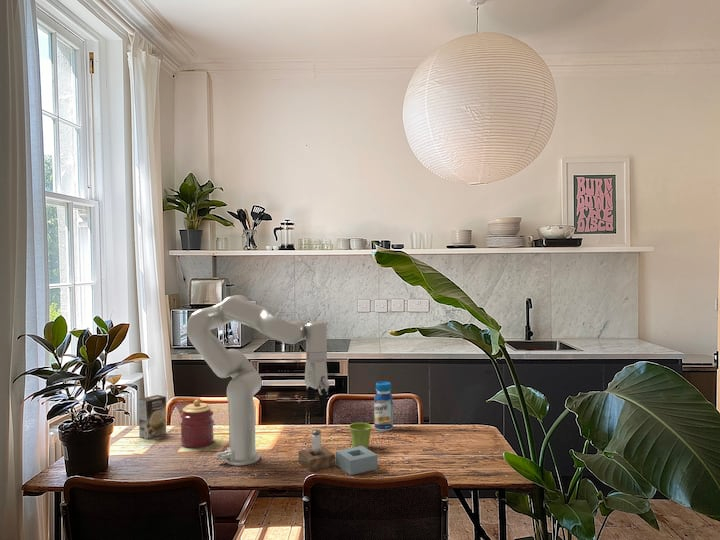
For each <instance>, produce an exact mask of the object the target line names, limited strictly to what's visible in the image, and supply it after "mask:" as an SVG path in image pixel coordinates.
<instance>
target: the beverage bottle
mask: <svg viewBox="0 0 720 540" xmlns="http://www.w3.org/2000/svg"><path fill="white" fill-rule="evenodd" d="M391 390H392V383H391V382H390V381H377V382H376V383H375V391H376V393H375V394H374V399H373V400H374V402H373V407H374V408H373V409H374V412H373V413H374V429H375V430H377V431H381V432H385V431H391V430H393V428H394V402H393V399H394V398H393V397H394V396H393V395H392V393H391Z"/></svg>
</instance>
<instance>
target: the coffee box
mask: <svg viewBox="0 0 720 540" xmlns="http://www.w3.org/2000/svg"><path fill="white" fill-rule="evenodd" d="M138 401H139V402H138V403H139V404H138V405H139V406H138V407H139V410H138V414H139V416H138V419H139V421H138V423H139V425H138V427H139V428H138V430H139V431H138V433H139V435H138V436H139V437H141V438H143V437H144V439H146V438H147V440H148V438H149V439H151V438H155V436H156V437H159V436H163V435H166V434H167V397H166V396H165V395H164V396H163V395H161V394H160V395H159V394H156V395H152V396H146V397H142V398H139V399H138ZM165 433H166V434H165ZM158 435H159V436H158Z"/></svg>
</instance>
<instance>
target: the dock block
mask: <svg viewBox="0 0 720 540" xmlns="http://www.w3.org/2000/svg"><path fill="white" fill-rule="evenodd" d="M378 462H379V461H378V454H377V453H375V452H373V451H372V450H370V449H369V448H368V449H367V448H365V447H363V446H358V447H353V446H352V447H349V448H344V449H339V450H335V466H337V467H338V468H340V469H341V470H343V471H344V472H345V473H347V474H348V475H349V476H353V475H357V474H361V473H366V472H369V471H374V470H378V465H379V463H378Z"/></svg>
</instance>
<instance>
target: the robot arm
mask: <svg viewBox="0 0 720 540" xmlns="http://www.w3.org/2000/svg"><path fill="white" fill-rule="evenodd" d="M231 322H236V323H239V324H242V325H244V326H247V327H249V328H252V329H255V330H257V331H258V332H259V333H261V334H263V335H265V336H266V337H269V338H270V339H273V340H276V341H278V342H281V343H284V344H286V345H287V344H288V345H296V344H298V343H299V342H301V341H304V340H305V348H306V349H305V352H306V353H305V368H304V369H305V370H304V383H305V387H306V400H307V401H312V400H315V399H316V390H318V391H317V392H318V393H319V394H318V406H319V407H326V406H328V394H329V389H330V383H329V382H328V380H329V379H328V366H327V360H328V351H327V350H328V347H327V346H328V343H327V342H328V339H327V337H328V335H327V333H328V332H327V331H328V328H327V323H326V322H324V321H307V320H306V321H305V320H293V321H290V322H289V321H286V320H283V319H281V318H278V317H276V316H274V315H273V314H271V313H270V312H269V310H268V309H267V308H266V307H265V306H262V305H259V304H256V303H253V302H251V301H250V300H249V299H248V298H247V297H246V296H244V295H241V294H236V295H231V296H227V297H226V298H224V299H223V300H222V301H221V302H220V303H218V304H215V305H212V306H209V307H204V308H199V309H198V310H196V311H194V312H192V313H191V315H190V316H189V317H188V320H187V323H186V335H187V338H188V340H189V341H190V343H191V344H192V346H193V347H194V348H195V349H196V351H197V352H198V353H199V354H200V355H201V357H202V358H203V360H204V362H206V364H207V365H208V367H209V368H210V369H211V370H212V372H213V373H214V374H215V375H216V376H217V377H219V378H221V379H227V378H229V377H231V378H232V379H231V380H230V381H229V382H228V385H227V387H226V399H227V407H228V436H229V437H228V438H229V439H228V440H229V442H228V443H229V444H228V445H229V447H226V450H224V451H220V452H216V453H215V454H216V459H222V460H225V461H224V462H225V463H226V464H228V465H230V466H238V467H240V466H249V465H252V464H255V463H256V462H258V461H259V460H260V457H261V455H260V453H259V452H257V451H256V410H255V407H256V406H255V402H254V396H255V395H256V394H257V393H258V392H259V391H260V390H261V388H262V384H263V381H262V377H261V375H260V374H259V372H258V371H257V370H256V368H255V366H253V364H252V363H251V362H250V360H249V359H248V357H247V356H246V355H245V354H244V353H243V352H241V351H240V350H239V349H236V348H230V349H227V348H226V346H224V345H223V343H222V342H221V340H220V339H219V338H218V337H217V336H215V334H213V332H212V331H211V330H215V329H217V328H220V327H222V326H225V325H227V324H229V323H231Z"/></svg>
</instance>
